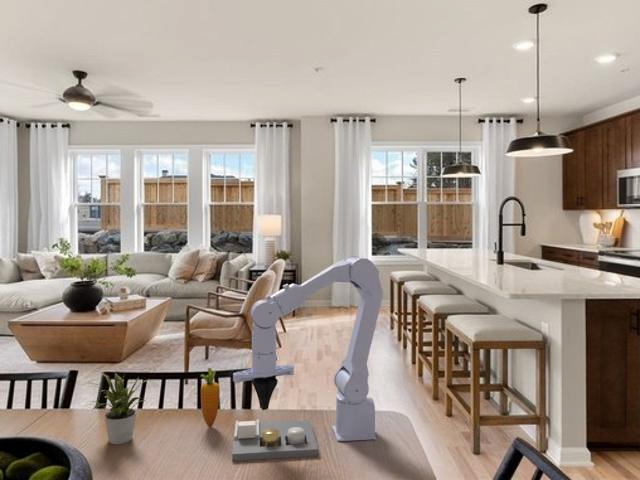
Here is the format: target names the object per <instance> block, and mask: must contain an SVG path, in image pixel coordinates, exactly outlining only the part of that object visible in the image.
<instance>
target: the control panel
mask: <svg viewBox="0 0 640 480" xmlns="http://www.w3.org/2000/svg"><path fill="white" fill-rule="evenodd" d="M238 422H239V420H235V426H234V435H233V445H232V453H231V454H232V455H231V456H232V457H231V460H232V462H235V461H237V462H238V461H250V460H251V461H253V460H269V459H284V458H287V459H288V458H301V457H318V456H319V448H318V444H317V441H316V437H315V432H314V430H313V426H312V423H311V420H310V419H304V420H303V419H302V420H301V419H300V420H283V421H282V420H281V421H279V420H278V421H261V422H260V419H256V422H255V438H240V439H238ZM293 427H300V428H303V429H304V430H305V444H302V445H287V443H288V430H289V429H290V428H293ZM265 429H277V430H278V431H279V443H280V445H277V446H273V447H266V446H261V445H262V431H263V430H265Z"/></svg>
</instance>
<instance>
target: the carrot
mask: <svg viewBox="0 0 640 480" xmlns="http://www.w3.org/2000/svg"><path fill="white" fill-rule="evenodd" d="M207 373H208V374H207V375H206V374H203V373H202V374H200V377H201V378H203V379H204V380H205V381H206V382H205V383H203V384H201V387H200V406H201V412H202V417H203V419H204V422H205V424H206V425H207V427H208V428H211V427H213V425H214V424H215V421H216V419H217V415H218V411H219V404H220V384H219V383H218V382H215V381H214V379H215V376H216V371H215V370H213V371H212V367H208V368H207Z"/></svg>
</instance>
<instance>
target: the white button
mask: <svg viewBox="0 0 640 480" xmlns="http://www.w3.org/2000/svg"><path fill="white" fill-rule="evenodd" d="M287 443H288V444H289V446H291V445H304V444H305V443H306V441H305V430H304V429H303V428H300V427H293V428H290V429H289V430H288V442H287Z"/></svg>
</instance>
